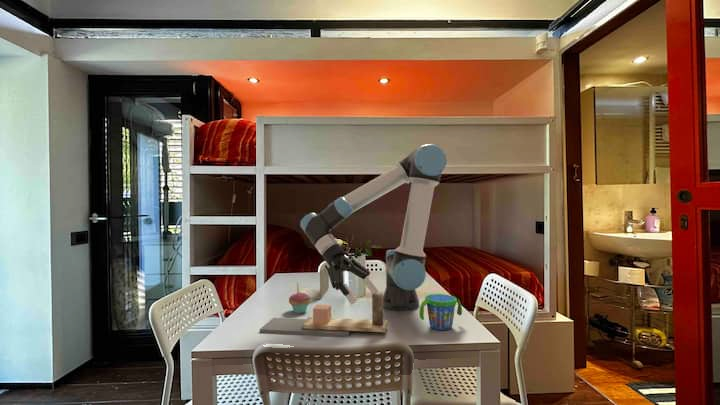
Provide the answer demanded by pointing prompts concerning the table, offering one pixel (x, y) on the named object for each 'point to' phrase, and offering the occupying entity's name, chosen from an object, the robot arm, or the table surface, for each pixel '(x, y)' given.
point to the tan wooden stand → (356, 320)
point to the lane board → (298, 328)
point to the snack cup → (440, 310)
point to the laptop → (324, 286)
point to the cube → (321, 314)
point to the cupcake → (299, 301)
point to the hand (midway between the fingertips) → (366, 297)
